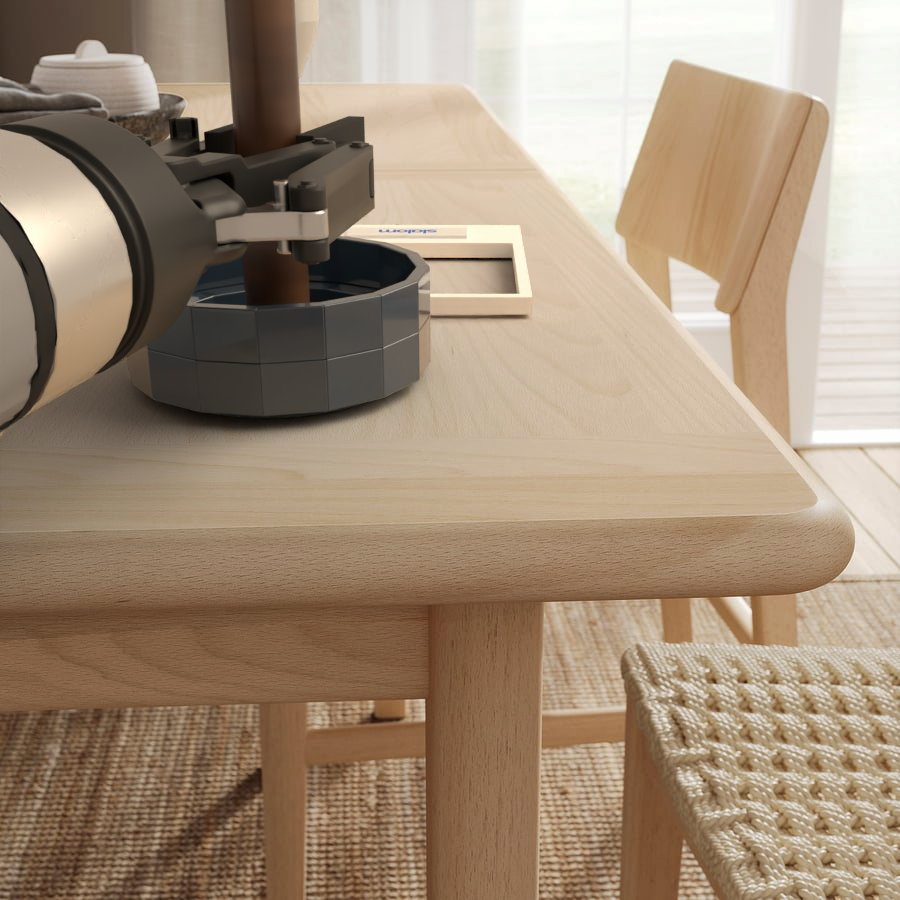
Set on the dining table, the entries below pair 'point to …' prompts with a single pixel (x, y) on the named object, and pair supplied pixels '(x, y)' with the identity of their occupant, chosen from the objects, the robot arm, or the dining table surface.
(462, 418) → the dining table surface
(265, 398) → the bowl
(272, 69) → the stirring stick
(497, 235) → the photo frame
